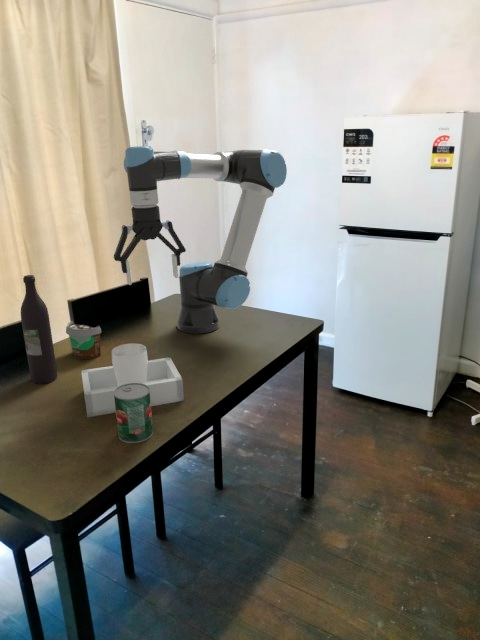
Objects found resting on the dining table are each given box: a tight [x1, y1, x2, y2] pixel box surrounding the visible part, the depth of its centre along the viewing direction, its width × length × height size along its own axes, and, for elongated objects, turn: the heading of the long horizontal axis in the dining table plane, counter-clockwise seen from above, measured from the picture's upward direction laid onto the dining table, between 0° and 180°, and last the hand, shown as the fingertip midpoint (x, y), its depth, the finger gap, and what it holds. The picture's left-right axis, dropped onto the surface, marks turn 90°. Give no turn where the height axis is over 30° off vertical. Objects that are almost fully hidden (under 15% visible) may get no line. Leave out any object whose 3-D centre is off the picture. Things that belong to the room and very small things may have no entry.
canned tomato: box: [114, 383, 154, 444], centre depth 115 cm, size 8×8×11 cm
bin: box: [80, 357, 185, 418], centre depth 133 cm, size 24×15×6 cm, turn 109°
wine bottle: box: [20, 274, 58, 385], centre depth 139 cm, size 7×7×30 cm
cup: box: [111, 342, 149, 387], centre depth 132 cm, size 9×9×12 cm
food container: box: [65, 320, 102, 360], centre depth 158 cm, size 12×6×10 cm, turn 62°
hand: (153, 280), depth 147 cm, fingers open, 13 cm apart
